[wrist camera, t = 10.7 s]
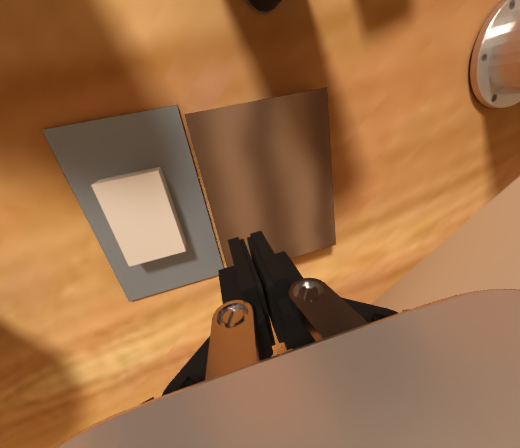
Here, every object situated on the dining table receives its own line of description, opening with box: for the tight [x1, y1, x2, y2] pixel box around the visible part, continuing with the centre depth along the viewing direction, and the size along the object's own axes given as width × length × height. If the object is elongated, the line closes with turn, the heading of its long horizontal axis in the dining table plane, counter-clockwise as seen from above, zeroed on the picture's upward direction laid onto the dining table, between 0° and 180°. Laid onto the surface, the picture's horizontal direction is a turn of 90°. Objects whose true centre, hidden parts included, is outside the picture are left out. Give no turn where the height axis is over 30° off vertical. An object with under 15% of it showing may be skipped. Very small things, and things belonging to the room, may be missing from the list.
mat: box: [42, 105, 224, 302], centre depth 28 cm, size 12×20×1 cm, turn 11°
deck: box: [185, 88, 336, 267], centre depth 29 cm, size 14×18×3 cm
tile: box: [91, 167, 186, 267], centre depth 26 cm, size 6×9×2 cm, turn 10°
